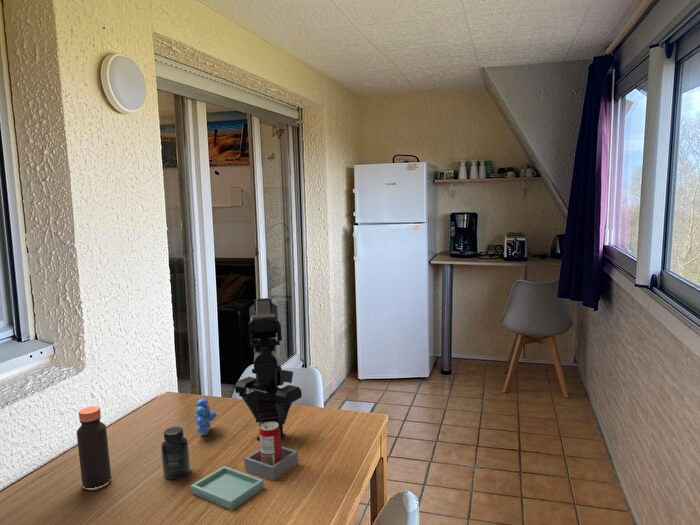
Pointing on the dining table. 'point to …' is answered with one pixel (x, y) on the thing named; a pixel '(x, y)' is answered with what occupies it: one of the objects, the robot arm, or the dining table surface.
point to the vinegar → (93, 448)
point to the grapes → (204, 416)
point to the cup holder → (269, 471)
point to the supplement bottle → (175, 453)
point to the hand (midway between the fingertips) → (269, 420)
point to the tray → (227, 487)
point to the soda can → (270, 443)
